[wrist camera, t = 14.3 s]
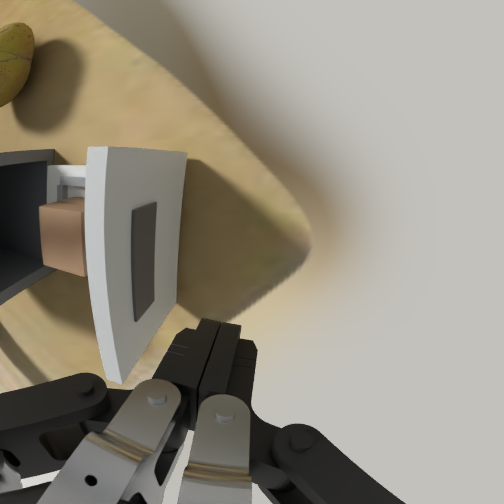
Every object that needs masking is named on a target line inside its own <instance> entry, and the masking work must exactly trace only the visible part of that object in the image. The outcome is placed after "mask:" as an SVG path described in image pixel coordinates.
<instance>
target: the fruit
mask: <svg viewBox="0 0 504 504" xmlns="http://www.w3.org/2000/svg"><path fill="white" fill-rule="evenodd" d="M33 50H34V35H33V32H32V30H31V28H30V27H29V26H28V25H26V24H24V23H12V24H8V25H6V26H3V27H1V28H0V107H2V106H4V105H6V104H7V103H9V102H10V101H11V100H12V99H14V98H15V97H16V96H17V94H18V93H19V92H20V91H21V89H22V88H23V86H24V85H25V83H26V81H27V79H28V76H29V73H30V69H31V62H32V57H33Z"/></svg>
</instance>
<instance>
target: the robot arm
mask: <svg viewBox="0 0 504 504" xmlns="http://www.w3.org/2000/svg"><path fill="white" fill-rule="evenodd" d="M240 333H241V325H236V324H231V323H225V322H222V324H221V322H220V321H214V320H209V319H204V318H202V319H201V321H200V323H199V325H198V327H197V329H196V330H194V329H189V328H185V329H184V330H182V331H181V332H179V333H178V334H176V336H175V338H174V340H173V341H172V344H171V345H170V347H169V348H168V351H167V352H166V354H165V356H164V357H163V359H162V361H161V363H160V364H159V366H158V368H157V370H156V372H155V373H154V375H153V377H152V379H149V380H145V381H143V382H141V383H139V384H138V385H137V386H136V387H135V388H134V389H133V390H121V389H111V388H107V386H106V384H105V382H104V380H103V379H102V378H101V377H99V376H97V375H95V374H92V373H79V374H75V375H72V376H68V377H65V378H61V379H57V380H54V381H50V382H46V383H43V384H39V385H35V386H31V387H27V388H23V389H18V390H14V391H10V392H5V393H1V394H0V504H162V502H163V497H164V490H165V488H166V485H167V483H168V481H169V479H170V476H171V474H172V472H173V470H174V467H175V465H176V463H177V460H178V458H179V456H180V454H181V451H182V449H183V445H184V441H185V438H186V435H187V432H188V430H192V431H194V436H193V441H192V446H191V451H190V457H189V461H188V465H187V467H186V468H185V470H184V473H183V477H182V482H181V487H180V492H179V497H178V502H177V504H251V502H252V501H251V500H252V482H253V483H255V484H258V486H259V488H260V489H261V490H262V492H263V493H264V494H265V495H266V496H267V498H268V499H269V500H270V501H271V502H272V503H273V504H405V503H404V502H403V501H401V500H400V499H399V498H397V497H396V496H395V495H393V494H392V493H390V492H389V491H388V490H387V489H385V488H384V487H383V486H382V485H380V484H379V483H378V482H376V481H375V480H374V479H373V478H371V477H370V476H369V475H368V474H367V473H366V472H364V471H363V470H362V469H361V468H359V467H358V466H357V465H356V464H355V463H354V462H352V461H351V460H350V459H349V458H348V457H347V456H346V455H344V454H343V453H342V452H341V451H340V450H339V449H338V448H337V447H336V446H334V445H333V444H332V443H331V442H330V441H329V440H328V439H327V438H326V437H324V435H322V434H321V433H320V432H319V431H318V430H317V429H315V428H313V427H311V426H309V425H305V424H291V425H287V426H285V427H283V428H279V427H276V426H274V425H271V424H269V423H266V422H264V421H263V420H261V419H260V418H259V417H258V416H257V415H256V414H255V413H254V411H253V409H252V406H251V397H252V390H253V382H254V374H255V367H256V358H257V351H258V350H257V348H256V346H255V344H254V342H253V341H251V340H245V339H240ZM57 470H60V472H59V473H58V474H57V476H56V477H55V479H54V480H53V481H52V482H51V481H50V482H46V483H42V484H39V485H35V486H31V487H27V488H23V489H22V483H21V479H23V478H29V477H33V476H37V475H41V474H45V473H50V472H54V471H57Z"/></svg>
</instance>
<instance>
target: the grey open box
mask: <svg viewBox="0 0 504 504" xmlns="http://www.w3.org/2000/svg"><path fill="white" fill-rule="evenodd" d="M53 159H54V149H44V150H27V151H15V152H4V153H0V305H2V304H3V303H5V302H6V301H7V300H9V299H10V298H12V297H13V296H15V295H16V294H18V293H19V292H21V291H23V290H24V289H26V288H27V287H29V286H30V285H32V284H33V283H35V282H37V281H38V280H40V279H41V278H43V277H45V276H46V275H48V274H50V273H51V272H53V271H55V270H56V268H53V267H49V266H46V265H43V257H42V247H41V236H40V220H39V206H42V205H46V204H47V169H48V166H49V165H53Z"/></svg>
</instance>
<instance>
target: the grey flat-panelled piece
mask: <svg viewBox="0 0 504 504" xmlns="http://www.w3.org/2000/svg"><path fill="white" fill-rule="evenodd" d="M186 161H187V153H186V152H177V151H167V150H156V149H143V148H128V147H88V152H87V163H86V165H49V166H48V169H47V204H49V203H53V202H57V201H60V200H64V199H68V198H72V197H83V198H85V245H86V261H87V272H88V282H89V291H90V299H91V306H92V312H93V318H94V324H95V330H96V335H97V340H98V345H99V350H100V354H101V358H102V363H103V367H104V371H105V375H106V378H107V379H108V380H111V381H113V382H116V383H119V384H121V385H123V383H124V382H125V380H126V379H127V377H128V375H129V374H130V372H131V371H132V369H133V368H134V366H135V364H136V363H137V361H138V360H139V358H140V357H141V355H142V354H143V352H144V350H145V349H146V347H147V346H148V344H149V343H150V341H151V340H152V338H153V337H154V335H155V334H156V332H157V331H158V329H159V328H160V326H161V325H162V323H163V322H164V320H165V319H166V317H167V316H168V314H169V313H170V311H171V310H172V308H173V307H174V305H175V304H176V296H177V268H178V249H179V233H180V220H181V208H182V197H183V187H184V178H185V169H186Z"/></svg>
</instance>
